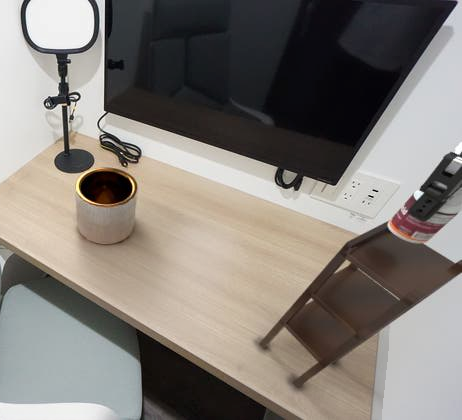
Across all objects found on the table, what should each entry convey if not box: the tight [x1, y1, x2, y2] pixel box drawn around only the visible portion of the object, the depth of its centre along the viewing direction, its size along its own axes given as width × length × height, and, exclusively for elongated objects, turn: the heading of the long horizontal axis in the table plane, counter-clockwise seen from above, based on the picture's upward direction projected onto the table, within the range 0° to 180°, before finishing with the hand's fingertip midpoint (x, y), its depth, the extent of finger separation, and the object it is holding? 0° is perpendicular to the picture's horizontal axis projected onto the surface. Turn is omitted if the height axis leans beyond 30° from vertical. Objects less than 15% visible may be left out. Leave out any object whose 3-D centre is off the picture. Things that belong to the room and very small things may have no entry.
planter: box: [74, 166, 139, 245], centre depth 92 cm, size 18×18×16 cm
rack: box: [258, 219, 462, 389], centre depth 57 cm, size 10×12×36 cm
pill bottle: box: [388, 183, 462, 244], centre depth 42 cm, size 5×5×8 cm
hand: (428, 210), depth 42 cm, fingers closed on pill bottle, 4 cm apart
